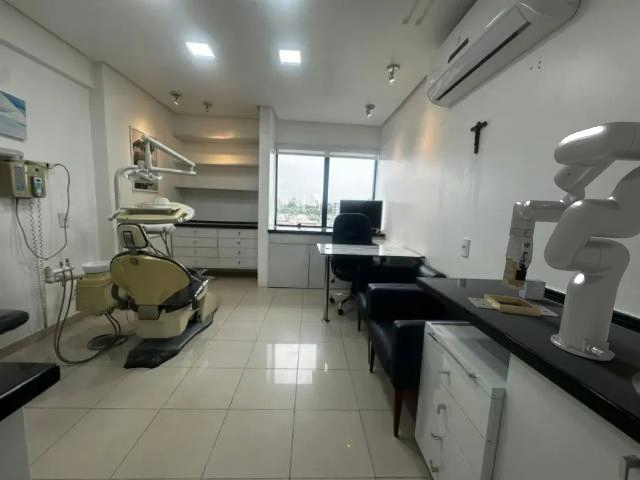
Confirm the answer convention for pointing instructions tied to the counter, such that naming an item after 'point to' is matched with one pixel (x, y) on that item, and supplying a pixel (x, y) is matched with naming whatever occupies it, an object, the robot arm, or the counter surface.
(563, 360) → the counter surface
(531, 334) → the counter surface
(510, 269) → the skincare box
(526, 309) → the wooden flat frame
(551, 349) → the counter surface
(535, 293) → the medicine box
